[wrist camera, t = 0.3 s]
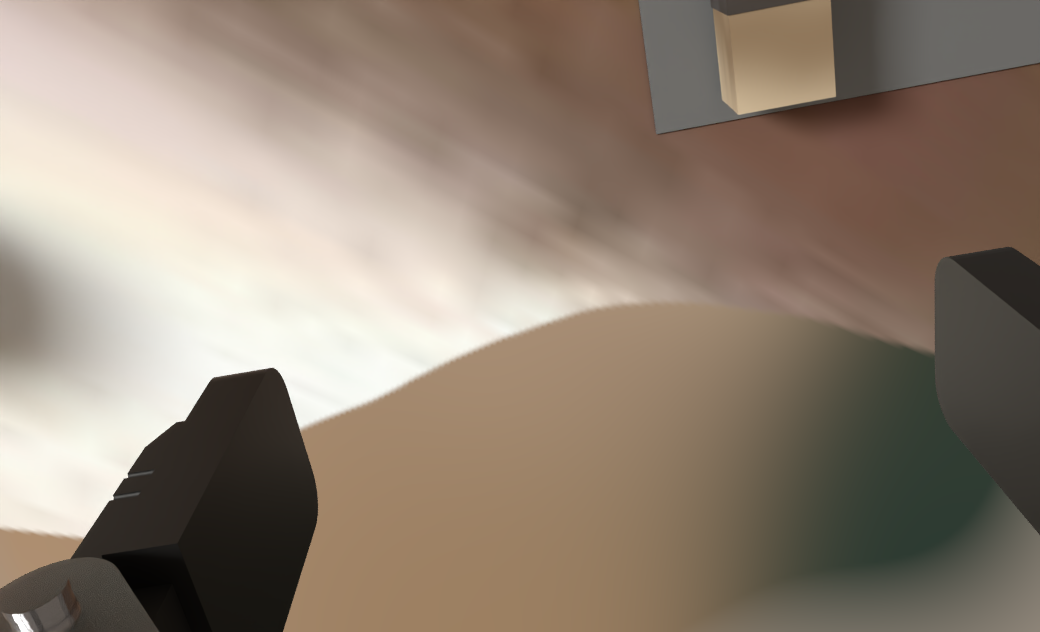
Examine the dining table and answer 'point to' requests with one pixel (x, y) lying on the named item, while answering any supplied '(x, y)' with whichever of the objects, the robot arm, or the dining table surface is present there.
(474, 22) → the dining table surface
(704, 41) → the label mat
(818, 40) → the swing arm
